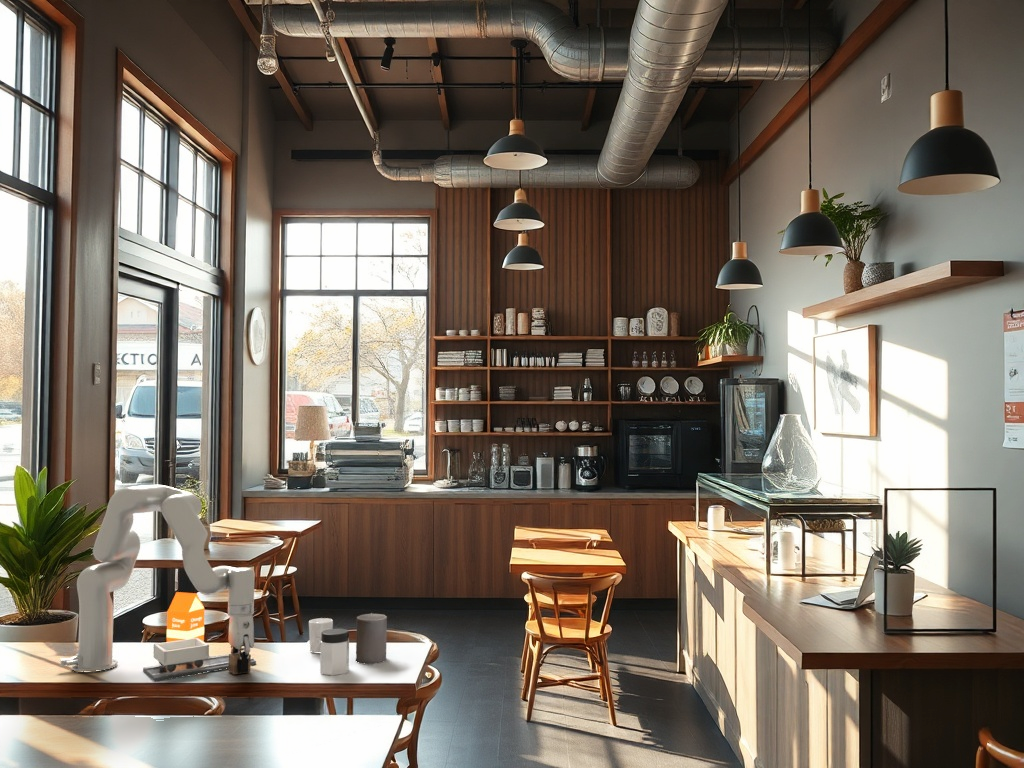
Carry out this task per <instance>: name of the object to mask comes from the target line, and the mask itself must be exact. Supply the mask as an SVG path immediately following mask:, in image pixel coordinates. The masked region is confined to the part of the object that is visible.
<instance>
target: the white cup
mask: <svg viewBox="0 0 1024 768" xmlns="http://www.w3.org/2000/svg"><path fill="white" fill-rule="evenodd" d="M333 626H334V620H333V619H332V618H328V617H327V618H326V617H324V618H323V617H320V618H313V619H310V620H309V621H308V634H309V635H308V638H309V644H310V645H309V647H310V649H309V651H312V652H321V633H322V631H324V630H328V629H334V628H333ZM312 652H311V653H312Z"/></svg>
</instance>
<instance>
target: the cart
mask: <svg viewBox="0 0 1024 768" xmlns="http://www.w3.org/2000/svg"><path fill="white" fill-rule="evenodd" d="M209 655H210V645H209V643H208V644H207V643H206V642H205V641H204V642H203V641H202V640H200V639H198V638H192V639H185V640H178V641H171V642H167V641H166V642H158V643H153V658H154V659H155V660H156V661H157V662H158V665H164V666H165V665H167V670H168V671H170V672H173V671H174V670H175V669H176V665H175V664H177V663H183V662H190V661H194V665H195V666H196V667H201V666H202V665H203V660H202V659H209V657H210V656H209Z"/></svg>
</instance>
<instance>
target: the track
mask: <svg viewBox="0 0 1024 768" xmlns="http://www.w3.org/2000/svg"><path fill="white" fill-rule="evenodd" d="M229 654H230V653H227V654H221V655H216V656H215V655H214V656H209V659H202V660H203V665H202V666H201V667H196V666H195V665H194V661H190V662H183V663H177V664H175V665H176V669H175V670H174V671H173V672H170V671H168V670H167V665H165V666H164V665H161V664H158V665H151V666H145V667H142V671H143V673H144V674H146V675H147V676H148V677H149V678H150V679H151V680H153V682H160V680H161V681H165V679H167V680H171V678H172V679H176V677H178V678H183V677H182V676H184V677H188V675H190V676H195V674H196V675H199V674H198V673H202V674H204V673H203V672H207V671H214V670H219V669H226V668H227V669H226V670H228V666H229ZM256 664H257V661H256V660H255V659H254V657H251V666H255V665H256ZM214 672H215V671H214Z"/></svg>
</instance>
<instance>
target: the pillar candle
mask: <svg viewBox="0 0 1024 768" xmlns="http://www.w3.org/2000/svg"><path fill="white" fill-rule="evenodd" d="M387 619H388V616H387V615H385V614H381V613H373V612H371V613H365V614H360V615H358V616H356V634H355V635H356V636H355V637H356V639H355V642H356V643H355V648H356V649H355V654H356V655H355V656H356V657H355V662H356V661H357V662H356V663H358V662H359V663H358V664H361V663H365V664H364V665H375V664H374V663H377V664H381V663H383V661H384V662H386V660H387V633H388V631H387V625H388V624H387V623H388V620H387Z"/></svg>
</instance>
